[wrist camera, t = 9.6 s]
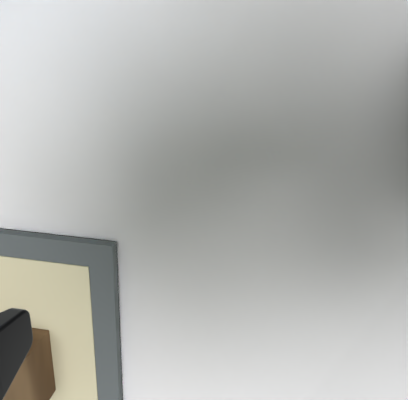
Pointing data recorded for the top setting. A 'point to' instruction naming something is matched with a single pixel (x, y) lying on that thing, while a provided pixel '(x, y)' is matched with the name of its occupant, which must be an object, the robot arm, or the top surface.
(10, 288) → the slate pad
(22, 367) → the walnut cube
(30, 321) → the robot arm
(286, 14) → the top surface
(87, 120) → the top surface
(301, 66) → the top surface
